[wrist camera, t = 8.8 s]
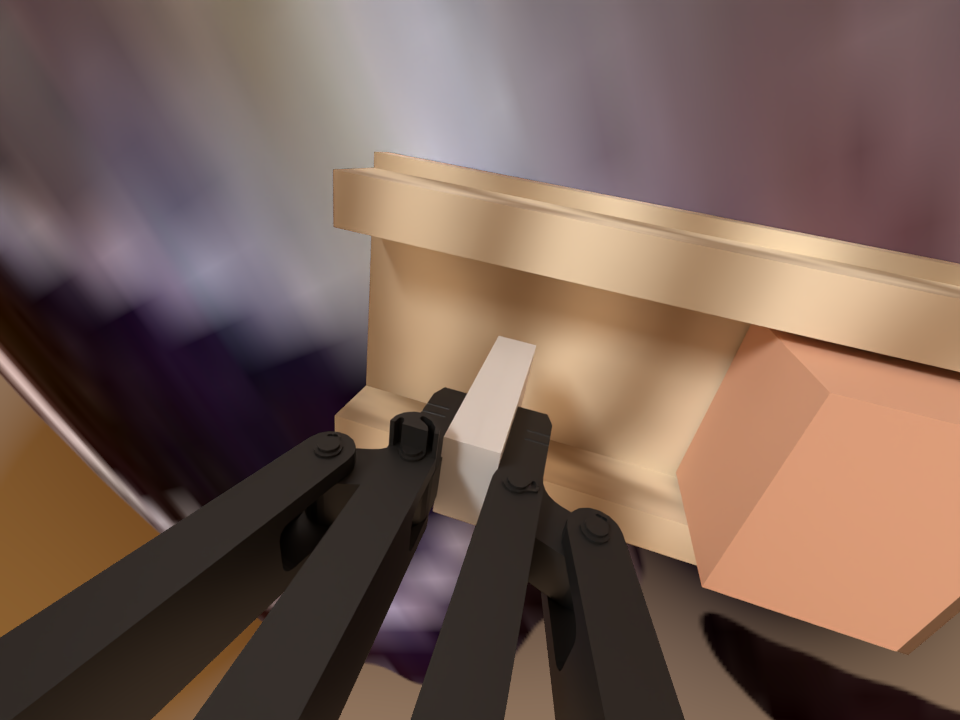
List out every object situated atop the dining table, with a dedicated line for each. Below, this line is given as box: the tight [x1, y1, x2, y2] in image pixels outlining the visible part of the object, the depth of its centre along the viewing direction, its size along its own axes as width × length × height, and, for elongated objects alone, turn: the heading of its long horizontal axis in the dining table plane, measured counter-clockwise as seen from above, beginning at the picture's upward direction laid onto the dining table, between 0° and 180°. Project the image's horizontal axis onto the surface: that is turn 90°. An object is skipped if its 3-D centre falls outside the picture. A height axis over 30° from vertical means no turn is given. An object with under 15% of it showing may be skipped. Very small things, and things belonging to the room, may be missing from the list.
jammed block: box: [676, 324, 960, 651], centre depth 15 cm, size 6×8×6 cm
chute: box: [333, 152, 960, 655], centre depth 17 cm, size 25×14×5 cm, turn 80°
